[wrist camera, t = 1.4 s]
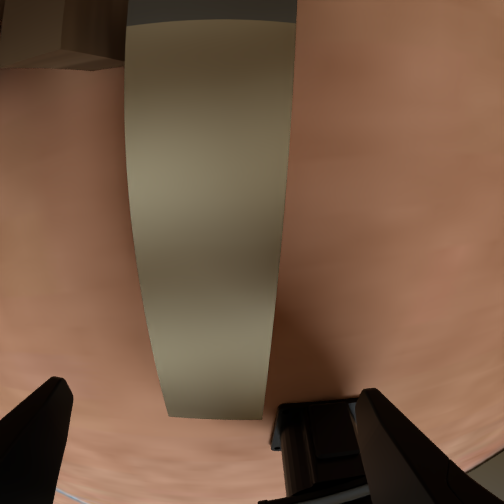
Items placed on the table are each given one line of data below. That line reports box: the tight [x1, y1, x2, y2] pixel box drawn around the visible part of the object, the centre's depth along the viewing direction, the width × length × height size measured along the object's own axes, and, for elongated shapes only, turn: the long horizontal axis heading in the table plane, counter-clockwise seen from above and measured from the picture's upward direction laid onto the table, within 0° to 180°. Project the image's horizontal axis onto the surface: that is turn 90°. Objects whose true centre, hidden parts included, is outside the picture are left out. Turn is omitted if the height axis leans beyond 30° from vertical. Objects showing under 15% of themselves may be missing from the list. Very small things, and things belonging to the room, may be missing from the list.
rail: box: [124, 0, 297, 420], centre depth 11 cm, size 15×4×5 cm, turn 178°
